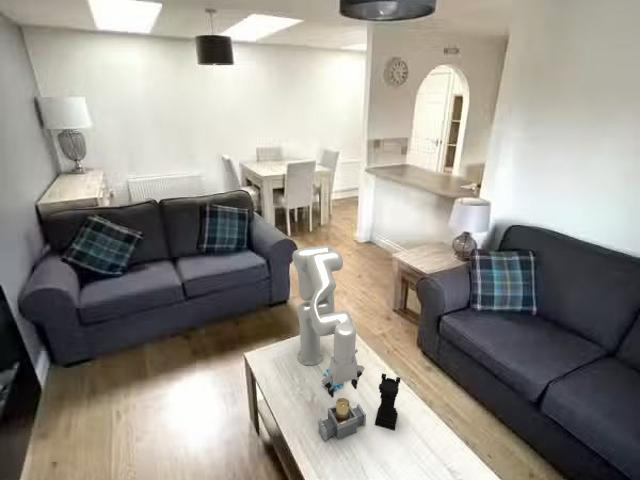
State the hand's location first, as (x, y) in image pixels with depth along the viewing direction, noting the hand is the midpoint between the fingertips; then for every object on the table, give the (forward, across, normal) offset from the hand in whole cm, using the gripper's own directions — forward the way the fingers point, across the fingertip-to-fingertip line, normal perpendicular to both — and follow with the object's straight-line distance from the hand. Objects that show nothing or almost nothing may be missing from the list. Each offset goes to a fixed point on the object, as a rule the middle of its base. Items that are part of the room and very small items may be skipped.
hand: (342, 390), depth 135 cm
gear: (+20, -7, -20) cm, 29 cm away
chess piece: (+19, -18, +5) cm, 27 cm away
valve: (+19, 0, +1) cm, 19 cm away
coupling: (+13, 0, +1) cm, 13 cm away
